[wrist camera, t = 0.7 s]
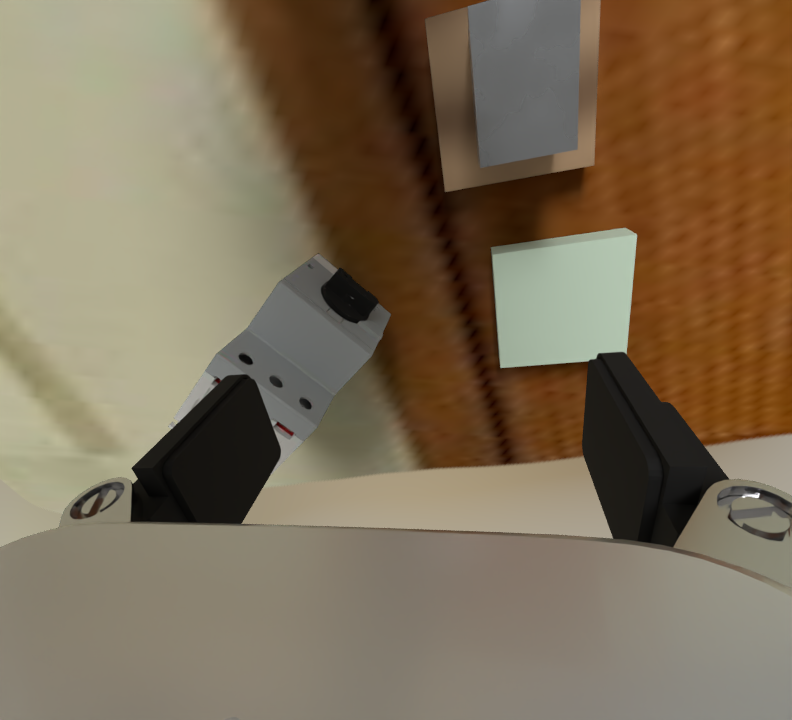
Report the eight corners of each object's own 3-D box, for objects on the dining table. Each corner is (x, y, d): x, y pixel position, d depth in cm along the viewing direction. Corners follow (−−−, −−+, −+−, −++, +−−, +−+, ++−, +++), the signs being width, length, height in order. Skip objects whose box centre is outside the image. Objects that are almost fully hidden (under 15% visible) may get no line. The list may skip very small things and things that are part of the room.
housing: (468, 38, 25) (467, 6, 19) (554, 15, 23) (581, -26, 18) (478, 162, 28) (480, 168, 22) (554, 147, 26) (577, 149, 21)
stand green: (490, 247, 33) (492, 254, 30) (625, 227, 30) (637, 234, 28) (498, 354, 37) (500, 368, 35) (616, 344, 35) (625, 358, 33)
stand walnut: (428, 28, 27) (424, 18, 24) (589, -16, 24) (601, -32, 22) (446, 188, 31) (444, 192, 29) (584, 163, 29) (594, 165, 27)
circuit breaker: (410, 285, 35) (375, 368, 22) (323, 381, 42) (256, 489, 29) (344, 227, 34) (265, 280, 21) (264, 336, 40) (166, 428, 27)
